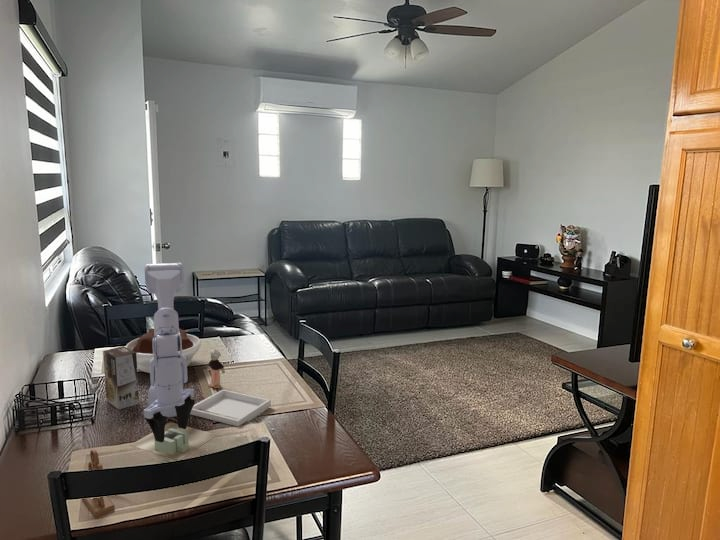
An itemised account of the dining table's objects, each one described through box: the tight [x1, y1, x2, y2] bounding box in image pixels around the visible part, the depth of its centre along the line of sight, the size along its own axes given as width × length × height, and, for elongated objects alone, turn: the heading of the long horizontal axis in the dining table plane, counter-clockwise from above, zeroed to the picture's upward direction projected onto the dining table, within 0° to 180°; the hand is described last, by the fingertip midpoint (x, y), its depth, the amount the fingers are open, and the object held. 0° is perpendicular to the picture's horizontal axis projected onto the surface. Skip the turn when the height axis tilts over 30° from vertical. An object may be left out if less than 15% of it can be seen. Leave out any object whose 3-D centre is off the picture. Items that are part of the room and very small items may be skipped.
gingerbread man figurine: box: [82, 448, 116, 518], centre depth 108 cm, size 9×4×12 cm, turn 43°
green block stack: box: [154, 428, 189, 455], centre depth 129 cm, size 7×6×3 cm
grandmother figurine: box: [207, 349, 226, 389], centre depth 169 cm, size 8×4×13 cm, turn 68°
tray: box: [190, 388, 272, 427], centre depth 152 cm, size 18×16×2 cm
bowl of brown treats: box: [125, 327, 202, 374], centre depth 185 cm, size 25×25×15 cm
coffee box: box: [102, 345, 140, 410], centre depth 156 cm, size 9×6×16 cm
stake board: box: [129, 421, 218, 461], centre depth 133 cm, size 16×14×5 cm
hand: (171, 434), depth 129 cm, fingers open, 7 cm apart
